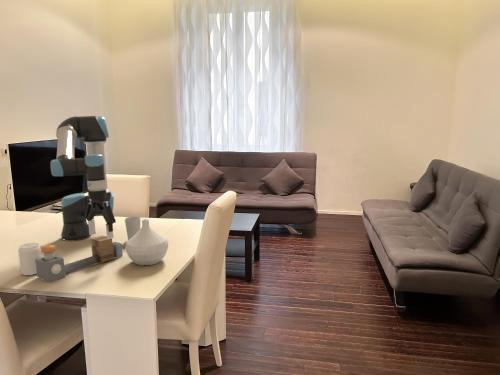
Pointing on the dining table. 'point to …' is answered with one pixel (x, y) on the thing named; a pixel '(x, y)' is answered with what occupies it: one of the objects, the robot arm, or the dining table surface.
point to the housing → (50, 268)
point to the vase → (146, 246)
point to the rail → (92, 259)
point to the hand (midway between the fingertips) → (101, 236)
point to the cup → (132, 226)
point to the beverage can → (29, 258)
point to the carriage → (102, 248)
